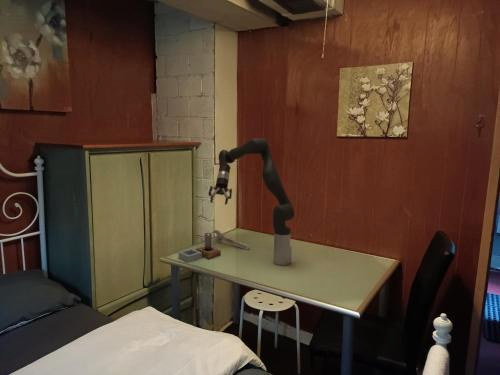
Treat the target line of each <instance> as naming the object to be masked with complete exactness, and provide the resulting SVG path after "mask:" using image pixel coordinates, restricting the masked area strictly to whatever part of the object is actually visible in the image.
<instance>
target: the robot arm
mask: <svg viewBox="0 0 500 375" xmlns="http://www.w3.org/2000/svg"><path fill="white" fill-rule="evenodd" d="M245 155H260V157H261V159H262V171H261V177H262V180H263V182H264V185H265V187H266V189H267V190H268V191H269V192H270V193H271V194H272V195H273V196H274V198H275V199H276V200H277V202H278V204H279V205H275V206H274V208H273V210H272V228H273V258H272V259H273V263H274V264H275V265H278V266H284V267H285V266H287V265H290V264H291V263H292V252H293V251H292V250H293V249H292V248H293V247H292V246H291V235H292V234H291V232H292V230H291V228H290V227H289V226H286V222H287V221H292V220H293V219H294V218H295V209H294V207H293V205H292V203H291V200H290V198H289V196H288V195H287V193H286V191H285V188H284V186H283V183H282V181H281V178H280V175H279V172H278V171H277V168H276V166H275V163H274V160H273V156H272V152H271V148H270V145H269V142H268V141H267V139H265V138H264V137H263V138H262V137H259V138H258V137H256V138H255V137H254V138H251V139H250V140H248V141H246V142H245V143H244V144H242V145H240V146H237V147H234V148H231V149H229V150H226V149H222V150H220V151H219V153H218V165H219V169H218V172H217V176H216V181H215V186H212V185H210V186H209V191H208V193H207V194H208V196H209V197H210V202H211V203H212V204H213V202H214V197H215V196H216V195H219V196H224V197H225V201H224V206H226V205H228V202H229V201H228V200H229V199H230V200H231V199H232V194H233V193H232V192H233V189H232V188H229V180H230V173H231V171H230V170H231V165H230V164H232V163H234V162H235V161H237V160H239V159H241V158H243V157H245ZM212 191H213V192H212ZM227 192H228V193H229V195H228V194H227Z"/></svg>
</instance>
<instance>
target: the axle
mask: <svg viewBox="0 0 500 375" xmlns="http://www.w3.org/2000/svg"><path fill="white" fill-rule="evenodd" d="M212 234H213V233H211V232H205V233H204V246H205V251H211V250H212V247H213V246H212V244H213V241H212V236H213V235H212Z"/></svg>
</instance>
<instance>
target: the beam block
mask: <svg viewBox="0 0 500 375" xmlns="http://www.w3.org/2000/svg"><path fill="white" fill-rule="evenodd" d="M195 250H197V251H199V252H202V258H204V259H206V260H212V259H215V258H217V257H221V256H222V255H221V254H222V252H221V251H222V250H221V249H220V248H216V247H213V246H212V250H211V251H205V245H204V246H200V247H197V248H195Z"/></svg>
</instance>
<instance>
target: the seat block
mask: <svg viewBox="0 0 500 375" xmlns="http://www.w3.org/2000/svg"><path fill="white" fill-rule="evenodd" d="M179 258H180V260H182V261H185V262H187V263H192V262H195V261H198V260H200V259H203V257H202V252H199V251H197V250H196V249H193V248H189V249H185V250H181V251H179V252H178V259H179Z"/></svg>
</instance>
